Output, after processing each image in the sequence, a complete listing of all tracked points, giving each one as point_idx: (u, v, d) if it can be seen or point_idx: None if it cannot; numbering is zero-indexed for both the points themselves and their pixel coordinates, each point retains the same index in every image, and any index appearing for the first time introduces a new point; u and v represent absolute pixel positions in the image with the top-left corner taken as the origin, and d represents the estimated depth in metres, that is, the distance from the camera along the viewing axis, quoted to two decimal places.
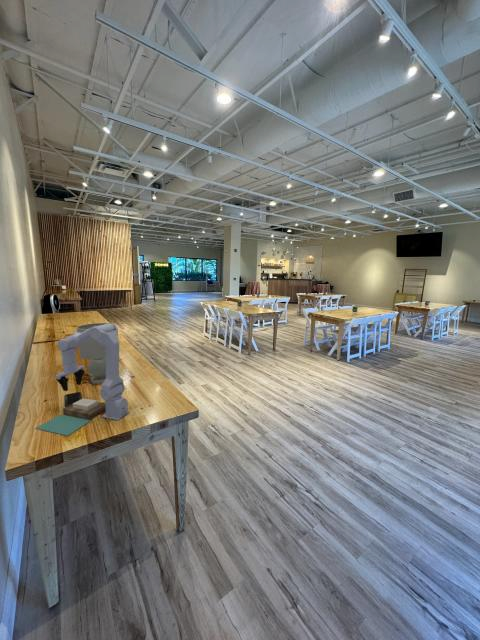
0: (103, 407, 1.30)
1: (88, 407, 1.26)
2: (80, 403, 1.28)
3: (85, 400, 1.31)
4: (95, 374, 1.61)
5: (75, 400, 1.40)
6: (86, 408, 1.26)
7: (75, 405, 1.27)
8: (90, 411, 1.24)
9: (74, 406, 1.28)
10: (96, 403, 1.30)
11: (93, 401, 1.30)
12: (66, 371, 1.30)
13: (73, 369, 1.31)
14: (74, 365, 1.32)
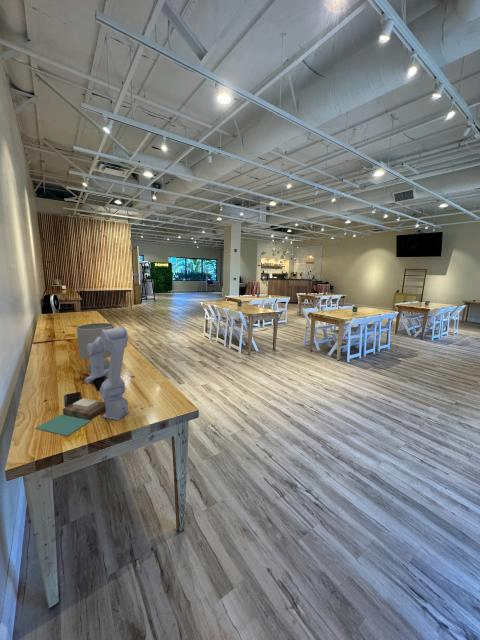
0: (103, 407, 1.30)
1: (88, 407, 1.26)
2: (80, 403, 1.28)
3: (85, 400, 1.31)
4: None
5: (75, 400, 1.40)
6: (86, 408, 1.26)
7: (75, 405, 1.27)
8: (90, 411, 1.24)
9: (74, 406, 1.28)
10: (96, 403, 1.30)
11: (93, 401, 1.30)
12: (94, 374, 1.33)
13: (101, 373, 1.34)
14: (102, 369, 1.35)
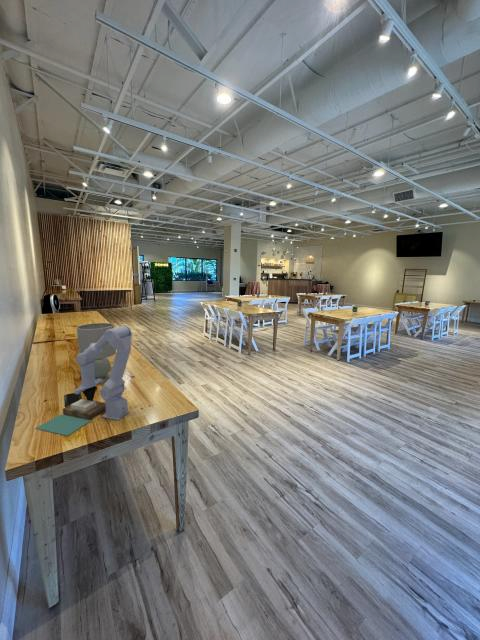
0: (103, 407, 1.30)
1: (86, 408, 1.25)
2: (78, 404, 1.27)
3: (83, 401, 1.30)
4: (95, 374, 1.61)
5: (75, 400, 1.40)
6: (84, 409, 1.25)
7: (73, 406, 1.26)
8: (90, 411, 1.24)
9: (72, 407, 1.27)
10: (94, 404, 1.29)
11: (91, 402, 1.29)
12: (85, 385, 1.28)
13: (91, 383, 1.29)
14: (92, 379, 1.29)
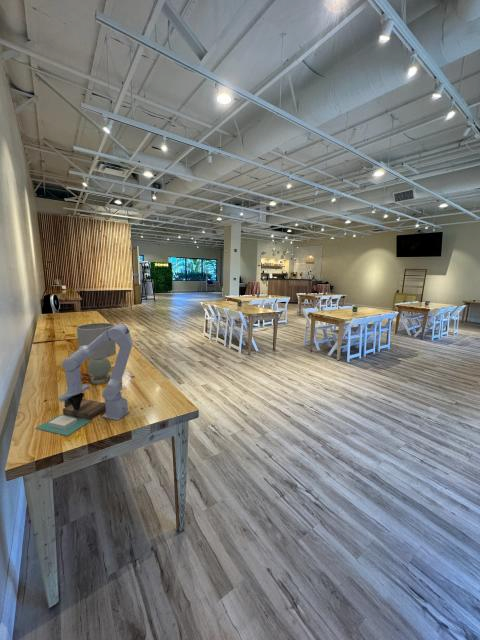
0: (103, 407, 1.30)
1: (75, 421, 1.19)
2: None
3: None
4: (95, 374, 1.61)
5: None
6: None
7: None
8: (90, 411, 1.24)
9: None
10: (66, 426, 1.15)
11: None
12: (70, 392, 1.20)
13: (78, 390, 1.22)
14: (79, 385, 1.22)
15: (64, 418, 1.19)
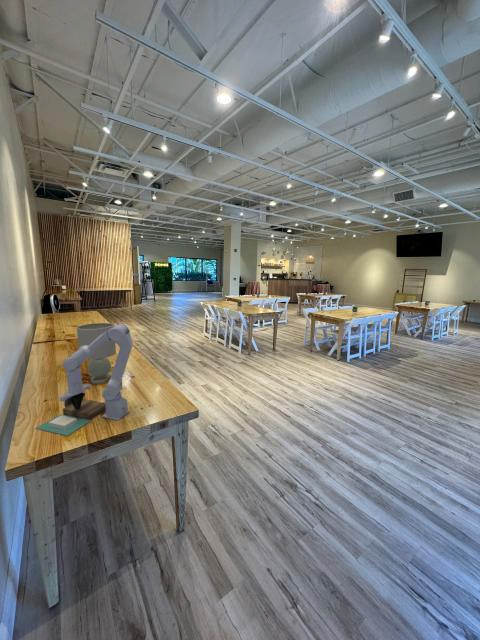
0: (103, 407, 1.30)
1: (75, 421, 1.19)
2: None
3: None
4: (95, 374, 1.61)
5: None
6: None
7: None
8: (90, 411, 1.24)
9: None
10: (66, 426, 1.15)
11: None
12: (71, 391, 1.21)
13: (79, 390, 1.22)
14: (80, 385, 1.22)
15: (64, 418, 1.19)
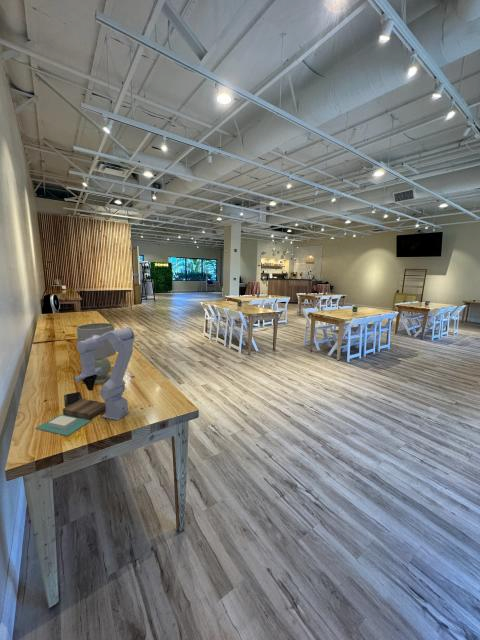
0: (103, 407, 1.30)
1: (75, 421, 1.19)
2: None
3: None
4: (95, 374, 1.61)
5: (75, 400, 1.40)
6: None
7: None
8: (90, 411, 1.24)
9: None
10: (66, 426, 1.15)
11: None
12: (85, 373, 1.28)
13: (92, 371, 1.30)
14: (93, 367, 1.30)
15: (64, 418, 1.19)
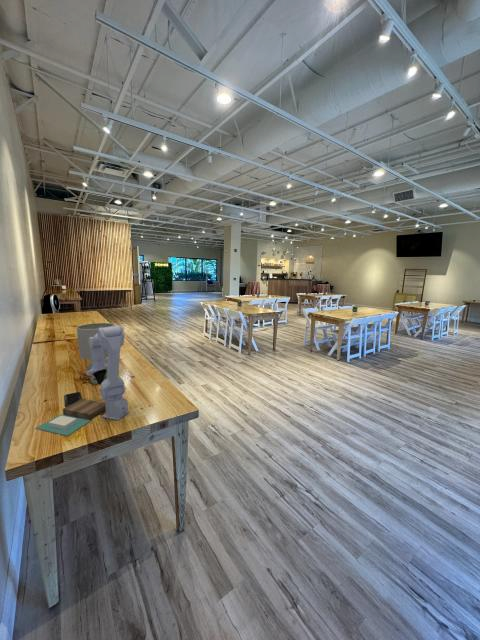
0: (103, 407, 1.30)
1: (75, 421, 1.19)
2: None
3: None
4: None
5: (75, 400, 1.40)
6: None
7: None
8: (90, 411, 1.24)
9: None
10: (66, 426, 1.15)
11: None
12: (95, 367, 1.36)
13: (102, 366, 1.37)
14: (103, 362, 1.38)
15: (64, 418, 1.19)
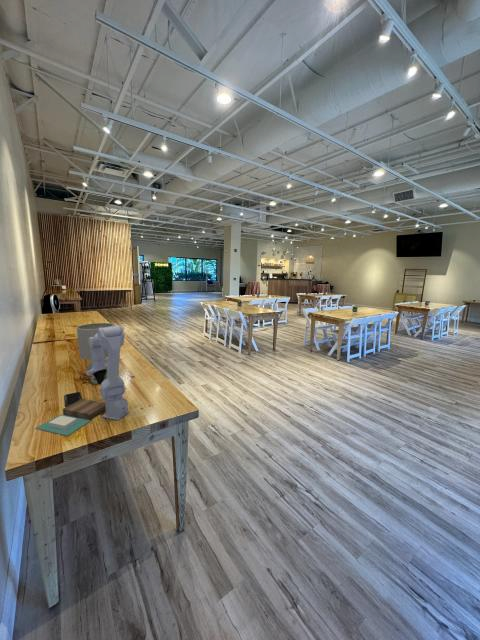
0: (103, 407, 1.30)
1: (75, 421, 1.19)
2: None
3: None
4: None
5: (75, 400, 1.40)
6: None
7: None
8: (90, 411, 1.24)
9: None
10: (66, 426, 1.15)
11: None
12: (95, 367, 1.36)
13: (102, 366, 1.37)
14: (103, 362, 1.38)
15: (64, 418, 1.19)
